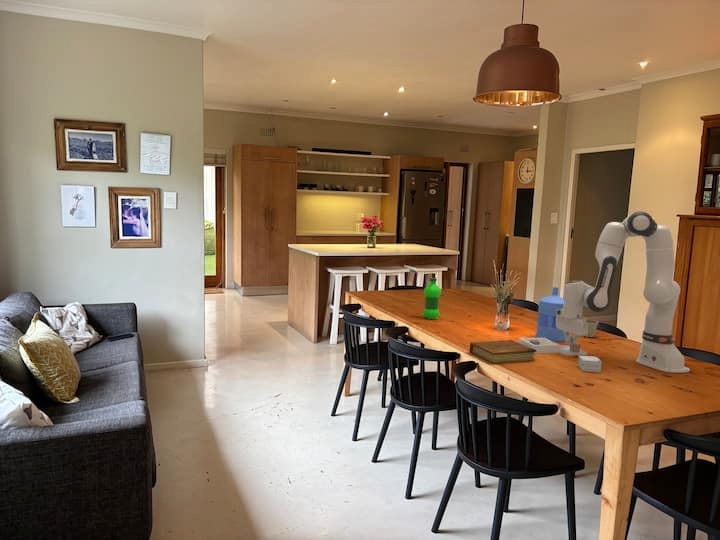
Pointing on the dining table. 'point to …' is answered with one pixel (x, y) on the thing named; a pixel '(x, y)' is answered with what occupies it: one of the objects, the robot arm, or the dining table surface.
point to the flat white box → (541, 345)
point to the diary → (502, 351)
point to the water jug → (550, 317)
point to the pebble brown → (575, 348)
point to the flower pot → (591, 327)
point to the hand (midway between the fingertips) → (570, 341)
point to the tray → (566, 352)
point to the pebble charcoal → (535, 342)
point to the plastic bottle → (431, 299)
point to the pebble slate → (569, 340)
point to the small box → (589, 364)
